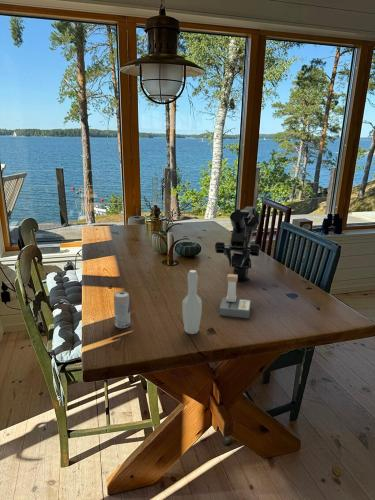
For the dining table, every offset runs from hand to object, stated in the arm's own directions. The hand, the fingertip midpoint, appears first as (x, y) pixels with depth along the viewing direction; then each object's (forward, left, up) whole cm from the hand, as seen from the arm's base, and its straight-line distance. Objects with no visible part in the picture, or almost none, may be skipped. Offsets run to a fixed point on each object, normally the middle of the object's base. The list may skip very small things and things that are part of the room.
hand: (235, 266), depth 150 cm
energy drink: (+51, -1, -14) cm, 52 cm away
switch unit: (+9, +11, -14) cm, 20 cm away
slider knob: (+8, +8, -10) cm, 15 cm away
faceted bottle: (+32, +15, -14) cm, 38 cm away
